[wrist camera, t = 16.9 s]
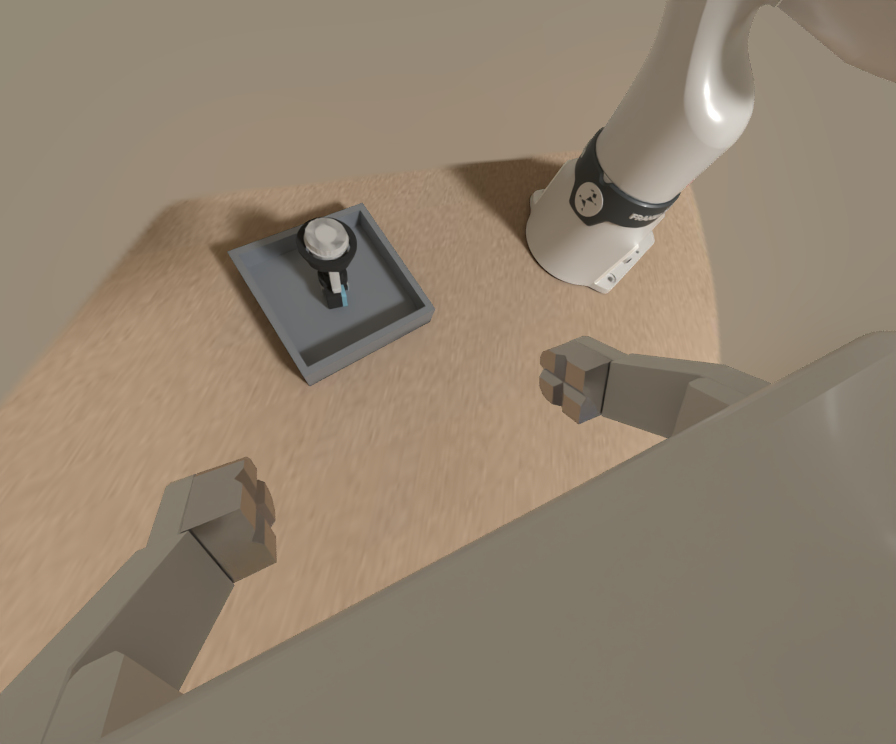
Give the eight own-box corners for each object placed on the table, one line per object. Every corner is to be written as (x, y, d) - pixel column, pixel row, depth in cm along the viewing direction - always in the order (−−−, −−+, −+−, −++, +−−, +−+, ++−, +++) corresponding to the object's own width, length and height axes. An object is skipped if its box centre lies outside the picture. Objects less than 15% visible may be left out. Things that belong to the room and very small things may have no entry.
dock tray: (362, 222, 44) (362, 202, 41) (429, 321, 43) (435, 308, 39) (238, 270, 39) (227, 251, 36) (309, 386, 37) (304, 377, 34)
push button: (303, 264, 40) (284, 200, 31) (349, 257, 42) (344, 194, 32) (317, 315, 39) (301, 264, 29) (364, 306, 40) (363, 255, 31)
